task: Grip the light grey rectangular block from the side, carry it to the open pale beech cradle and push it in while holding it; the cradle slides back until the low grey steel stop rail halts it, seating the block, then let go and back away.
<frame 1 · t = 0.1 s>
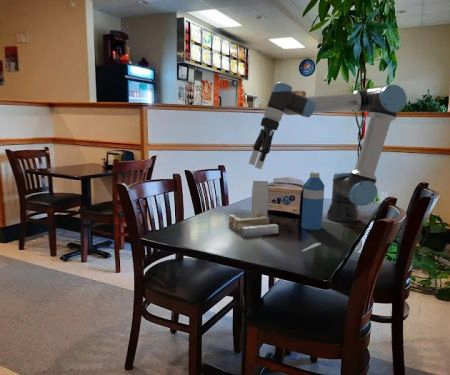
hand: (254, 166, 162), 28 cm above the table, tool tilted 20°, fingers open, 13 cm apart
cradle: (248, 221, 167), point 2 cm above the table, slide at 0.0 cm
butter knife: (302, 253, 138), on the table
light grey rectangular block: (259, 219, 181), on the table
water bottle: (311, 227, 170), on the table
stop rail: (260, 234, 158), on the table
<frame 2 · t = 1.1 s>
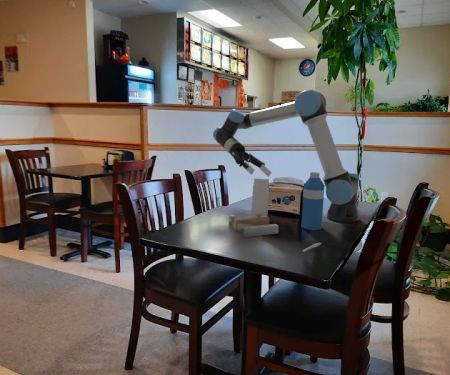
hand: (261, 173, 176), 23 cm above the table, tool tilted 60°, fingers open, 13 cm apart
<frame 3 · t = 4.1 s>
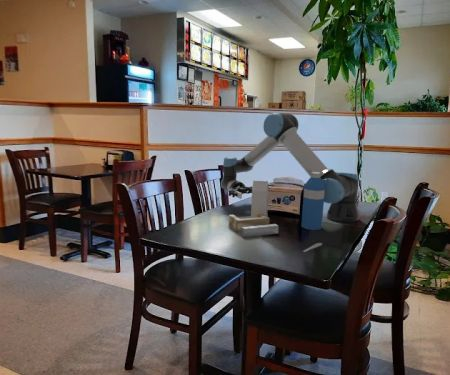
hand: (253, 195, 185), 11 cm above the table, tool horizontal, fingers open, 13 cm apart
water bottle: (311, 227, 170), on the table, touching arm
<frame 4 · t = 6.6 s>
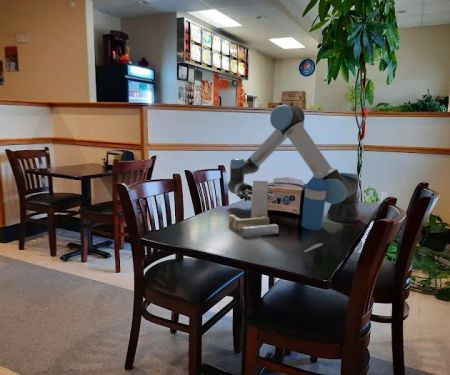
hand: (264, 199, 175), 11 cm above the table, tool horizontal, fingers closed on light grey rectangular block, 10 cm apart
light grey rectangular block: (259, 219, 181), on the table, touching gripper
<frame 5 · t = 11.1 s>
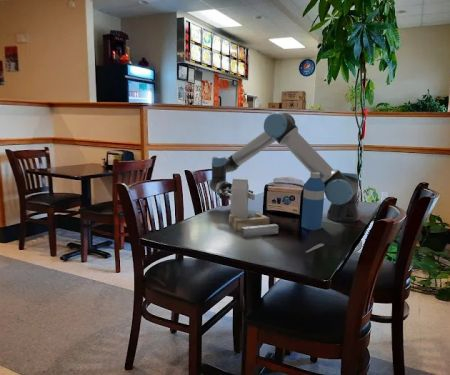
hand: (243, 197, 170), 12 cm above the table, tool horizontal, fingers closed on light grey rectangular block, 10 cm apart
light grey rectangular block: (239, 219, 176), point 1 cm above the table, touching gripper
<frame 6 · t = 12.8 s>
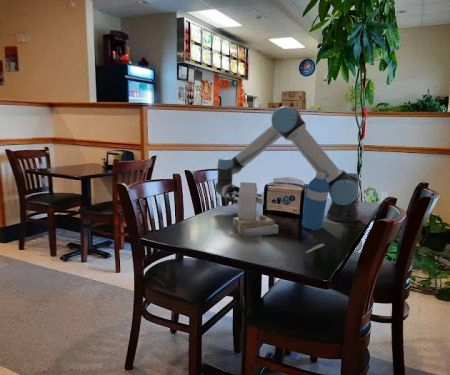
hand: (252, 202, 162), 12 cm above the table, tool horizontal, fingers closed on light grey rectangular block, 10 cm apart
cradle: (253, 224, 163), point 2 cm above the table, slide at 4.7 cm
light grey rectangular block: (246, 224, 168), point 1 cm above the table, touching gripper
when the fingers open (13 cm above the table, at t = 15.5 s): light grey rectangular block moves 1 cm, point 1 cm above the table.
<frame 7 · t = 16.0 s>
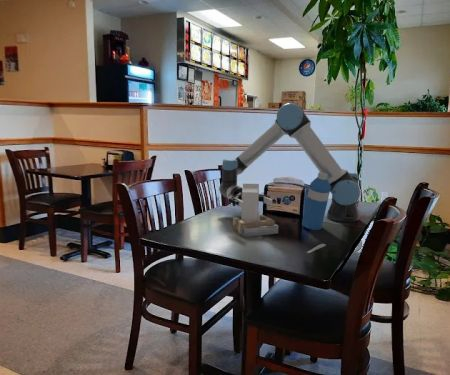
hand: (257, 203, 159), 12 cm above the table, tool horizontal, fingers open, 13 cm apart
cradle: (253, 224, 163), point 2 cm above the table, slide at 4.7 cm, touching stop rail
light grey rectangular block: (249, 226, 166), point 1 cm above the table
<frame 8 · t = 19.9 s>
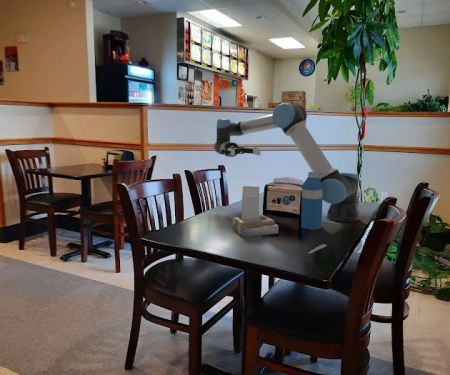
hand: (247, 152, 178), 32 cm above the table, tool horizontal, fingers open, 13 cm apart
at the end: cradle slide at 4.7 cm; light grey rectangular block inside the target area (2.3 cm from its centre), on the table; light grey rectangular block tilted 0° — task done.
